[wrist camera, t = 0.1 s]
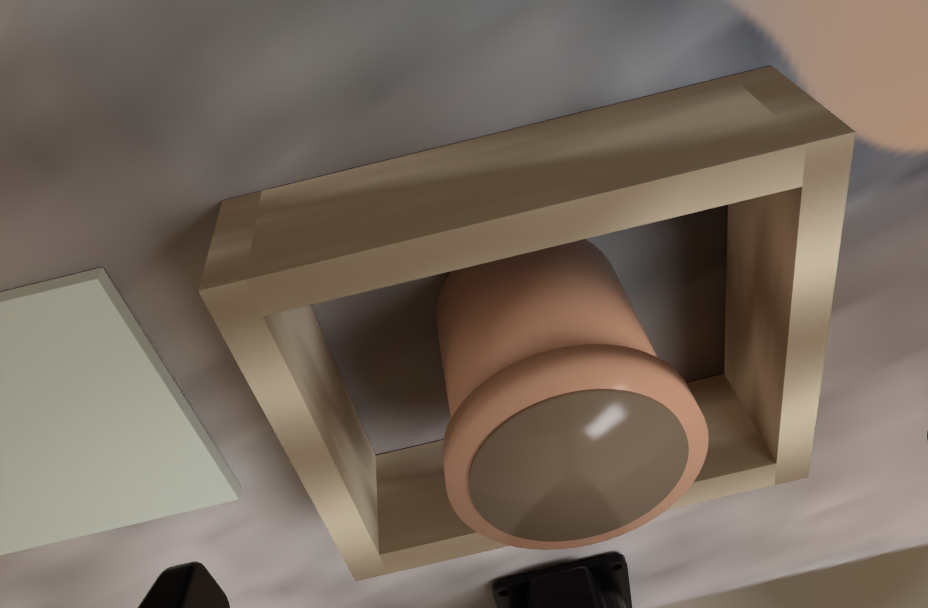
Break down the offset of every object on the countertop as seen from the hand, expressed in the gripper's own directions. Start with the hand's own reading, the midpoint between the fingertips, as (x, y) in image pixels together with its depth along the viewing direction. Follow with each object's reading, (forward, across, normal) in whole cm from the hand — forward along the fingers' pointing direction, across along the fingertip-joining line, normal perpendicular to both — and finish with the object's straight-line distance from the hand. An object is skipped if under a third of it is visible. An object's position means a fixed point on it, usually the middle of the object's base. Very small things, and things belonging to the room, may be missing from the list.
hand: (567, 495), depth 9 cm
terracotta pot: (+14, -1, +9) cm, 17 cm away
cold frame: (+14, -1, +9) cm, 17 cm away
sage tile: (+14, +17, +9) cm, 24 cm away
